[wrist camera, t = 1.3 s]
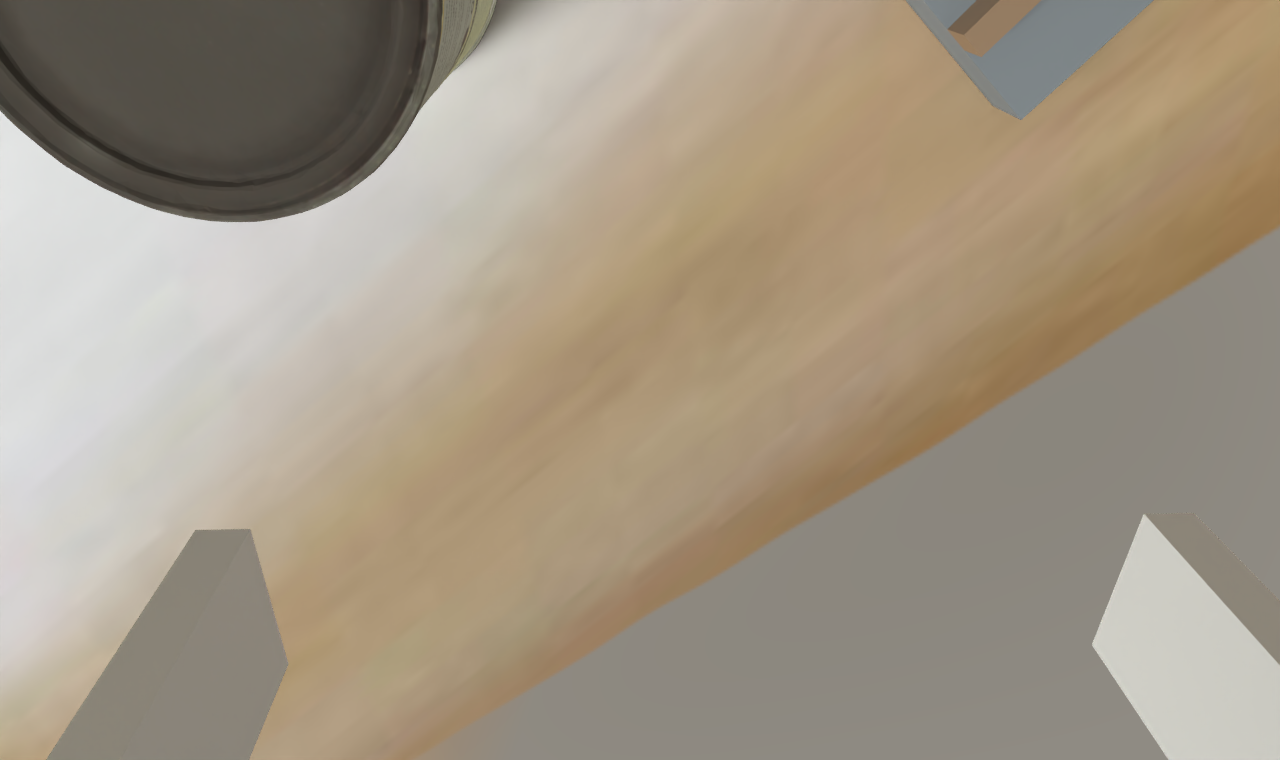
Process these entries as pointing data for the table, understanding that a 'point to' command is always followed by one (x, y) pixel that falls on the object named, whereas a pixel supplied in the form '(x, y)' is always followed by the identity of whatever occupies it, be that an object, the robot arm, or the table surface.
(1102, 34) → the deck
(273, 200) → the coffee can
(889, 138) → the table surface
